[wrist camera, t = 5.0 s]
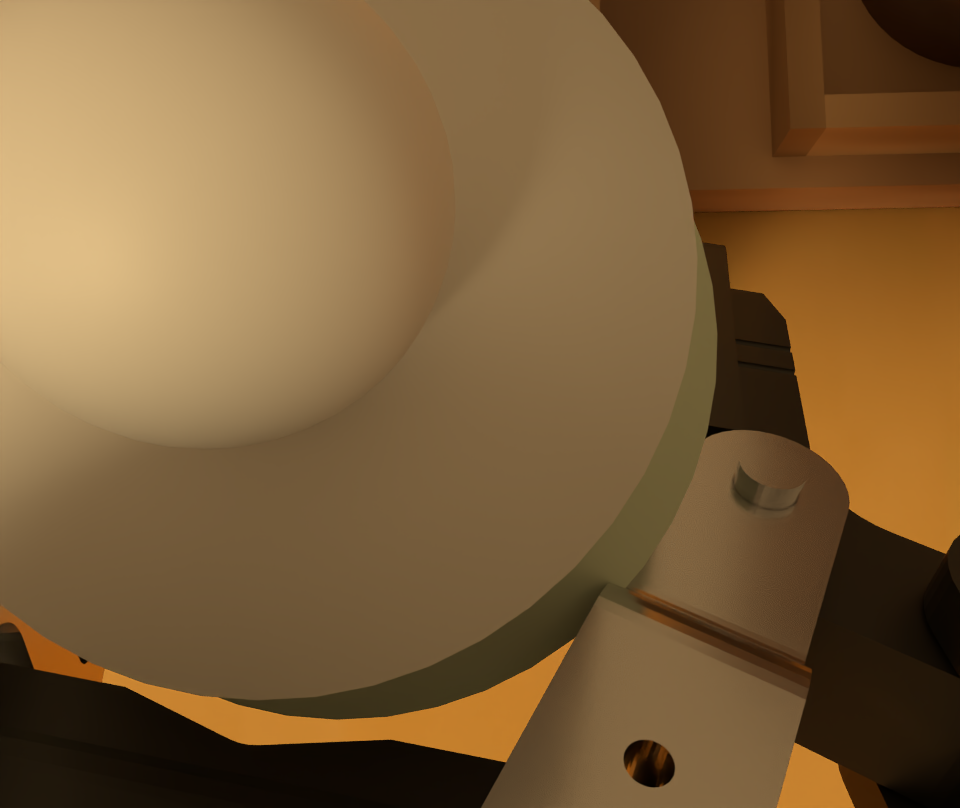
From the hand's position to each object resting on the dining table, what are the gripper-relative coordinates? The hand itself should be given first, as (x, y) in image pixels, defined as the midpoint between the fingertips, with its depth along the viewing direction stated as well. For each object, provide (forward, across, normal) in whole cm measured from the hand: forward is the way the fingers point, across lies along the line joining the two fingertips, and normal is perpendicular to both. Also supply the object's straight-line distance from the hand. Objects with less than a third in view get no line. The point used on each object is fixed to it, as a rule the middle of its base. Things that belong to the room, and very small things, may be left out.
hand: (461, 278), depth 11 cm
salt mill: (+3, 0, +6) cm, 7 cm away
